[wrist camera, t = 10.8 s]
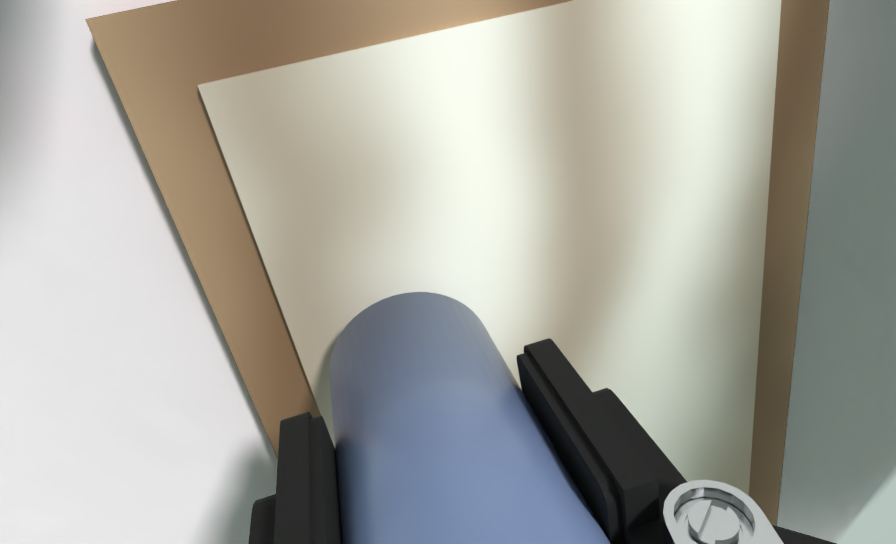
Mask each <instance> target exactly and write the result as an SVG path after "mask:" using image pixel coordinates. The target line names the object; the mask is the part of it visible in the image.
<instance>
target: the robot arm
mask: <svg viewBox="0 0 896 544" xmlns="http://www.w3.org/2000/svg"><path fill="white" fill-rule="evenodd" d="M516 359H517V366H518V371H519V377H520V383H521V389H522V392H523V393H524V395H525V397H526V399H527V400H528V402H529V404H530V406H531V407H532V409H533V411H534V412H535V414H536V416H537V418H538V419H539V421H540V423H541V424H542V426H543V428H544V430H545V431H546V433H547V435H548V436H549V438H550V440H551V442H552V443H553V445H554V447H555V449H556V450H557V452H558V454H559V455H560V457H561V459H562V461H563V462H564V464H565V466H566V467H567V469H568V471H569V473H570V474H571V476H572V478H573V479H574V481H575V483H576V485H577V486H578V488H579V490H580V491H581V493H582V495H583V497H584V498H585V500H586V502H587V504H588V505H589V507H590V509H591V510H592V512H593V514H594V516H595V517H596V519H597V521H598V522H599V524H600V526H601V528H602V529H603V531H604V533H605V534H606V536H607V538H608V540H609V541H610V543H611V544H836V543H832V542H829V541H826V540H822V539H819V538H815V537H812V536H808V535H805V534H802V533H798V532H795V531H791V530H788V529H784V528H781V527H778V526H774V525H771V524H770V522H769V520H768V519H767V517H766V516H765V514H764V513H763V511H762V510H761V508H760V507H759V506H758V505H757V504H756V503H755V502H754V500H753V499H752V498H751V497H749V496H748V495H747V494H745V493H744V492H742V491H741V490H739V489H738V488H735V487H733V486H731V485H728V484H726V483H723V482H718V481H712V480H693V481H690V482H687V481H686V480H685V478H684V477H683V476H682V475H681V473H680V472H679V471H678V470H677V469H676V467H675V466H674V465H673V464H672V462H671V461H670V460H669V459H668V458H667V456H666V455H665V454H664V453H663V452H662V450H661V449H660V448H659V447H658V445H657V444H656V443H655V442H654V441H653V439H652V438H651V437H650V436H649V434H648V433H647V432H646V431H645V430H644V428H643V427H642V426H641V425H640V424H639V422H638V421H637V420H636V419H635V417H634V416H633V415H632V414H631V413H630V411H629V410H628V409H627V408H626V406H625V405H624V404H623V403H622V402H621V400H620V399H619V398H618V397H617V395H616V394H615V393H614V392H613V391H612V390H611V389H608V388H604V389H601V390H598V391H595V392H592V391H591V390H590V388H589V387H588V386H587V385H586V383H585V382H584V381H583V379H582V378H581V377H580V375H579V374H578V373H577V371H576V370H575V369H574V368H573V366H572V365H571V364H570V362H569V361H568V360H567V358H566V357H565V356H564V354H563V353H562V352H561V351H560V349H559V348H558V347H557V345H556V344H555V343H554V341H553V340H552V339H550V338H548V339H544V340H541V341H538V342H535V343H531V344H528V345H525V346H524V353H523V354H520V355H517V358H516ZM249 544H342V531H341V518H340V505H339V491H338V478H337V465H336V452H335V447H334V445H333V442H332V439H331V437H330V434H329V432H328V429H327V426H326V424H325V421H324V419H323V417H322V416H318V417H315V418H313V417H312V415H311V413H310V412H306V413H303V414H300V415H296V416H293V417H290V418H286V419H283V420H281V421H280V432H279V450H278V469H277V488H276V494H275V495H272V496H269V497H266V498H263V499H259V500H256V501H255V503H254V504H253V509H252V516H251V526H250V536H249Z"/></svg>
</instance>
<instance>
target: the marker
mask: <svg viewBox="0 0 896 544" xmlns="http://www.w3.org/2000/svg"><path fill="white" fill-rule="evenodd" d="M329 376H330V389H331V403H332V416H333V429H334V442H335V452H336V465H337V478H338V491H339V505H340V518H341V531H342V544H611V543H610V541H609V540H608V538H607V536H606V534H605V533H604V531H603V529H602V528H601V526H600V524H599V522H598V521H597V519H596V517H595V516H594V514H593V512H592V510H591V509H590V507H589V505H588V504H587V502H586V500H585V498H584V497H583V495H582V493H581V491H580V490H579V488H578V486H577V485H576V483H575V481H574V479H573V478H572V476H571V474H570V473H569V471H568V469H567V467H566V466H565V464H564V462H563V461H562V459H561V457H560V455H559V454H558V452H557V450H556V449H555V447H554V445H553V443H552V442H551V440H550V438H549V436H548V435H547V433H546V431H545V430H544V428H543V426H542V424H541V423H540V421H539V419H538V418H537V416H536V414H535V412H534V411H533V409H532V407H531V406H530V404H529V402H528V400H527V399H526V397H525V395H524V393H523V392H522V390H521V388H520V386H519V385H518V383H517V381H516V380H515V378H514V376H513V374H512V373H511V371H510V369H509V368H508V366H507V364H506V362H505V361H504V359H503V357H502V356H501V354H500V352H499V350H498V349H497V347H496V345H495V343H494V342H493V340H492V338H491V337H490V335H489V333H488V331H487V330H486V328H485V326H484V325H483V323H482V322H481V320H480V319H479V317H478V316H477V315H476V314H475V313H474V312H473V311H472V310H471V309H470V308H468V307H467V306H466V305H464V304H463V303H461V302H459V301H458V300H455V299H453V298H451V297H448V296H445V295H441V294H437V293H430V292H410V293H403V294H398V295H394V296H391V297H388V298H385V299H382V300H380V301H378V302H376V303H374V304H372V305H371V306H369V307H367V308H366V309H364V310H363V311H361V312H360V313H359V314H358V315H357V316H355V317H354V318H353V319H352V320H351V321H350V322H349V323H348V324H347V326H346V327H345V328H344V330H343V331H342V332H341V334H340V335H339V337H338V339H337V341H336V343H335V345H334V348H333V351H332V354H331V358H330V366H329Z"/></svg>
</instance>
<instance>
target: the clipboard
mask: <svg viewBox="0 0 896 544" xmlns="http://www.w3.org/2000/svg"><path fill="white" fill-rule="evenodd" d="M828 10H829V0H177V1H172V2H167V3H162V4H157V5H152V6H147V7H142V8H138V9H133V10H128V11H123V12H118V13H113V14H108V15H103V16H99V17H94V18H89V19H85V20H86V22H87V24H88V27H89V29H90V31H91V33H92V36H93V38H94V40H95V43H96V45H97V47H98V49H99V52H100V54H101V56H102V59H103V61H104V63H105V65H106V68H107V70H108V72H109V75H110V77H111V79H112V81H113V84H114V86H115V88H116V90H117V93H118V95H119V97H120V100H121V102H122V104H123V106H124V109H125V111H126V113H127V116H128V118H129V120H130V122H131V125H132V127H133V129H134V132H135V134H136V136H137V138H138V141H139V143H140V145H141V148H142V150H143V152H144V154H145V157H146V159H147V161H148V164H149V166H150V168H151V170H152V173H153V175H154V177H155V180H156V182H157V184H158V186H159V189H160V191H161V193H162V195H163V198H164V200H165V202H166V205H167V207H168V209H169V211H170V214H171V216H172V218H173V221H174V223H175V225H176V227H177V230H178V232H179V234H180V237H181V239H182V241H183V243H184V246H185V248H186V250H187V253H188V255H189V257H190V259H191V262H192V264H193V266H194V269H195V271H196V273H197V275H198V278H199V280H200V282H201V285H202V287H203V289H204V291H205V294H206V296H207V298H208V301H209V303H210V305H211V307H212V310H213V312H214V314H215V316H216V319H217V321H218V323H219V326H220V328H221V330H222V332H223V335H224V337H225V339H226V342H227V344H228V346H229V348H230V351H231V353H232V355H233V358H234V360H235V362H236V364H237V367H238V369H239V371H240V374H241V376H242V378H243V380H244V383H245V385H246V387H247V390H248V392H249V394H250V396H251V399H252V401H253V403H254V406H255V408H256V410H257V412H258V415H259V417H260V419H261V421H262V424H263V426H264V428H265V431H266V433H267V435H268V437H269V440H270V442H271V444H272V447H273V449H274V451H275V453H276V456H277V458H278V450H279V432H280V421H281V420H283V419H286V418H290V417H293V416H296V415H300V414H303V413H306V412H310V413H311V415H312V417H313V418H315V417H318V416H322V417H323V419H324V421H325V424H326V426H327V429H328V432H329V434H330V437H331V439H332V442H333V445H334V447H335V442H334V429H333V416H332V403H331V389H330V376H329V366H330V358H331V354H332V351H333V348H334V345H335V343H336V341H337V339H338V337H339V335H340V334H341V332H342V331H343V330H344V328H345V327H346V326H347V324H348V323H349V322H350V321H351V320H352V319H353V318H354V317H355V316H357V315H358V314H359V313H360V312H361V311H363V310H364V309H366V308H367V307H369V306H371V305H372V304H374V303H376V302H378V301H380V300H382V299H385V298H388V297H391V296H394V295H398V294H403V293H410V292H430V293H437V294H441V295H445V296H448V297H451V298H453V299H455V300H458V301H459V302H461V303H463V304H464V305H466V306H467V307H468V308H470V309H471V310H472V311H473V312H474V313H475V314H476V315H477V316H478V317H479V319H480V320H481V322H482V323H483V325H484V326H485V328H486V330H487V331H488V333H489V335H490V337H491V338H492V340H493V342H494V343H495V345H496V347H497V349H498V350H499V352H500V354H501V356H502V357H503V359H504V361H505V362H506V364H507V366H508V368H509V369H510V371H511V373H512V374H513V376H514V378H515V380H516V381H517V383H518V385H519V386H520V388H521V383H520V377H519V371H518V366H517V359H516V358H517V355H520V354H523V353H524V346H525V345H528V344H531V343H535V342H538V341H541V340H544V339H548V338H550V339H552V340H553V341H554V343H555V344H556V345H557V347H558V348H559V349H560V351H561V352H562V353H563V354H564V356H565V357H566V358H567V360H568V361H569V362H570V364H571V365H572V366H573V368H574V369H575V370H576V371H577V373H578V374H579V375H580V377H581V378H582V379H583V381H584V382H585V383H586V385H587V386H588V387H589V388H590V390H591V391H592V392H595V391H598V390H601V389H604V388H608V389H611V390H612V391H613V392H614V393H615V394H616V395H617V397H618V398H619V399H620V400H621V402H622V403H623V404H624V405H625V406H626V408H627V409H628V410H629V411H630V413H631V414H632V415H633V416H634V417H635V419H636V420H637V421H638V422H639V424H640V425H641V426H642V427H643V428H644V430H645V431H646V432H647V433H648V434H649V436H650V437H651V438H652V439H653V441H654V442H655V443H656V444H657V445H658V447H659V448H660V449H661V450H662V452H663V453H664V454H665V455H666V456H667V458H668V459H669V460H670V461H671V462H672V464H673V465H674V466H675V467H676V469H677V470H678V471H679V472H680V473H681V475H682V476H683V477H684V478H685V480H686V481H687V482H690V481H693V480H712V481H718V482H723V483H726V484H728V485H731V486H733V487H735V488H738V489H739V490H741V491H742V492H744V493H745V494H747V495H748V496H749V497H751V498H752V499H753V500H754V502H755V503H756V504H757V505H758V506H759V507H760V508H761V510H762V511H763V513H764V514H765V516H766V517H767V519H768V520H769V522H770V524H771V525H774V526H777V516H778V506H779V496H780V486H781V477H782V467H783V457H784V447H785V437H786V427H787V417H788V407H789V397H790V387H791V377H792V367H793V357H794V347H795V337H796V328H797V318H798V308H799V298H800V288H801V278H802V268H803V258H804V248H805V238H806V228H807V218H808V208H809V198H810V188H811V179H812V169H813V159H814V149H815V139H816V129H817V119H818V109H819V99H820V89H821V79H822V69H823V59H824V49H825V39H826V30H827V20H828ZM521 390H522V389H521Z"/></svg>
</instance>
